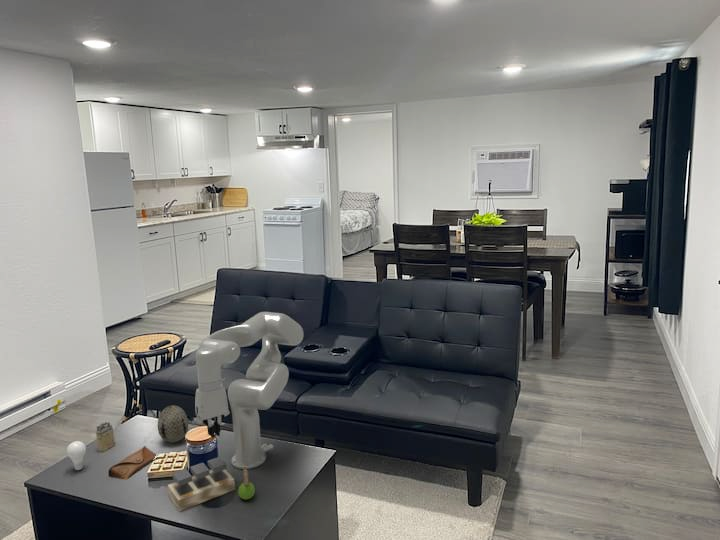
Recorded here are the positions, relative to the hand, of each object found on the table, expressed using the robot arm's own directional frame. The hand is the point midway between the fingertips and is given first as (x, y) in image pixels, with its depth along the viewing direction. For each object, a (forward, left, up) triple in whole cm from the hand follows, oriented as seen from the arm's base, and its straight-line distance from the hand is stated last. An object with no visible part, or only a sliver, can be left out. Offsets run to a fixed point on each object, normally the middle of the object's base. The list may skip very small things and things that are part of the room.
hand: (214, 435), depth 188 cm
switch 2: (0, 0, -14) cm, 14 cm away
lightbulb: (+37, -43, -19) cm, 60 cm away
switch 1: (+12, 0, -14) cm, 18 cm away
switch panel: (+6, 0, -19) cm, 20 cm away
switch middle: (+6, 0, -14) cm, 15 cm away
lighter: (+25, -54, -19) cm, 62 cm away
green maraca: (-4, +13, -19) cm, 24 cm away
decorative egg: (+2, -42, -19) cm, 46 cm away
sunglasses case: (+19, -32, -20) cm, 42 cm away
